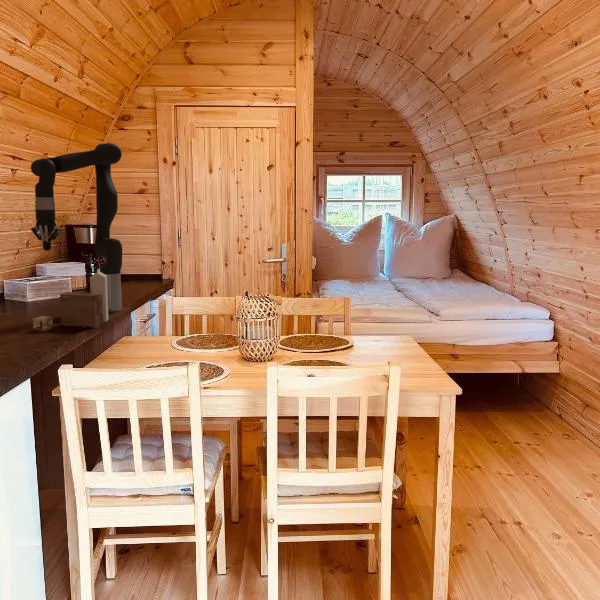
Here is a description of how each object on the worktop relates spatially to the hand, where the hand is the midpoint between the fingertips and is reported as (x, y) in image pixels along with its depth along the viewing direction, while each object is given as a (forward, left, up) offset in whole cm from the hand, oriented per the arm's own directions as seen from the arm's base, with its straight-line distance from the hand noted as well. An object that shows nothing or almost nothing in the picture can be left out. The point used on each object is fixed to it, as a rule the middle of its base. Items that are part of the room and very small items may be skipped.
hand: (47, 250), depth 248 cm
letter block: (+21, +11, -29) cm, 38 cm away
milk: (-2, +22, -29) cm, 37 cm away
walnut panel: (+9, +20, -29) cm, 37 cm away
